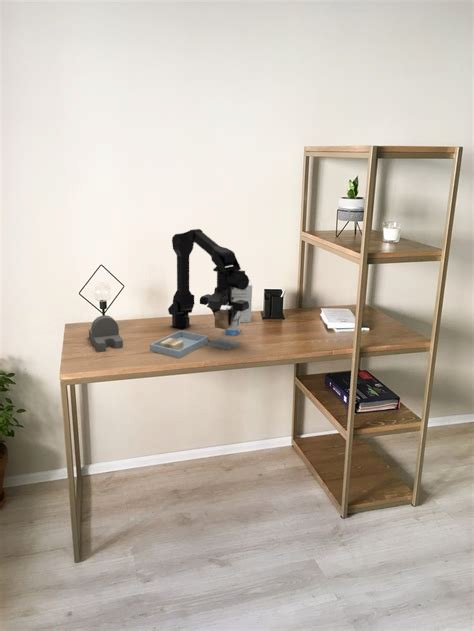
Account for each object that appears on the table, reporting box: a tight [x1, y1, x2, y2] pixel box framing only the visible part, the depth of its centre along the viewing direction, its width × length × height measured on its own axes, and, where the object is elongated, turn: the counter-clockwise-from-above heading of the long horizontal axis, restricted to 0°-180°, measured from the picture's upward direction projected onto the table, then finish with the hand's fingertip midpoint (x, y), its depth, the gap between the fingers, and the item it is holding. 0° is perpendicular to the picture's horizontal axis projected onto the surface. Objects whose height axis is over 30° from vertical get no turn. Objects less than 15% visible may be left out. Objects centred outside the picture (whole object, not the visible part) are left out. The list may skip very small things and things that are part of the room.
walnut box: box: [214, 308, 233, 331], centre depth 212 cm, size 5×5×6 cm
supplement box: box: [232, 279, 253, 323], centre depth 245 cm, size 10×9×17 cm
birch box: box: [160, 338, 183, 350], centre depth 206 cm, size 6×6×4 cm
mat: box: [205, 336, 242, 351], centre depth 215 cm, size 10×10×1 cm
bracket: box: [88, 315, 124, 353], centre depth 213 cm, size 10×18×11 cm, turn 25°
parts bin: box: [149, 329, 210, 359], centre depth 210 cm, size 13×19×3 cm
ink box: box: [225, 305, 241, 336], centre depth 227 cm, size 8×5×12 cm, turn 168°
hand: (223, 324), depth 213 cm, fingers closed on walnut box, 5 cm apart
